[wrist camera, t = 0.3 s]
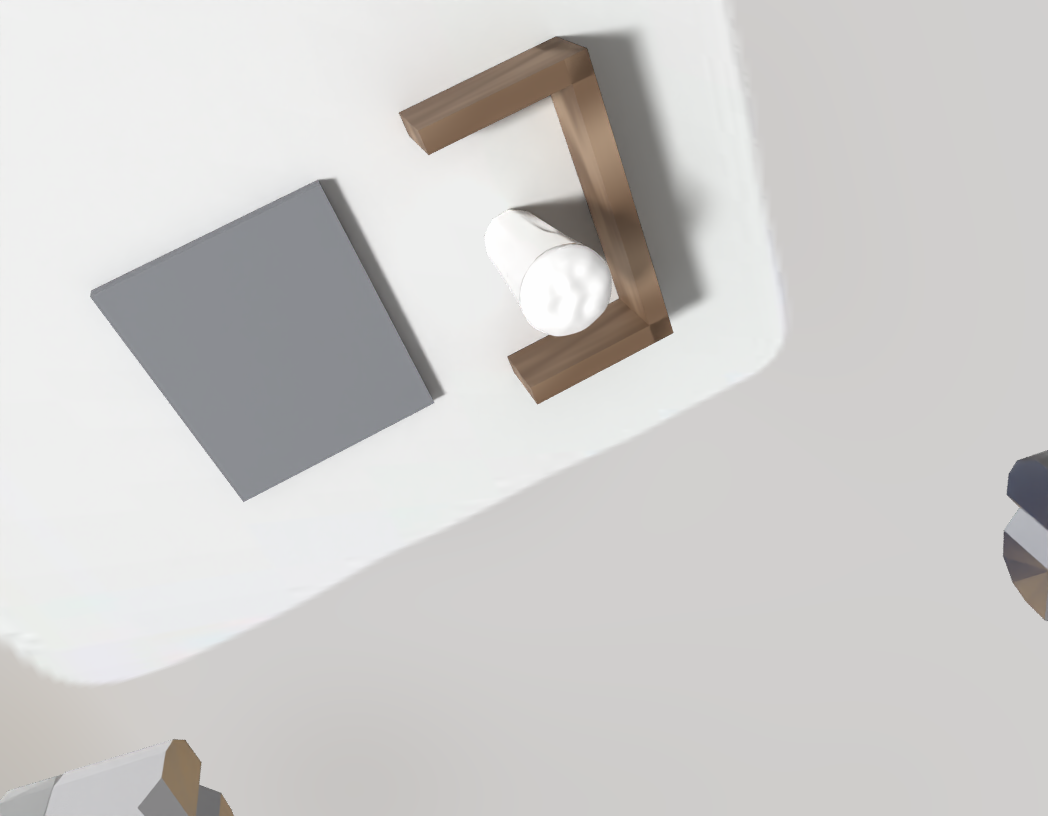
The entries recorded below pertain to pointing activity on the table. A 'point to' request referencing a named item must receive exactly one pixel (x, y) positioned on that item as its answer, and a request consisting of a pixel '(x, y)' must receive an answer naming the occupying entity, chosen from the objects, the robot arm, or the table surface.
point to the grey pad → (268, 341)
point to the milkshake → (548, 273)
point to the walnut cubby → (604, 187)
